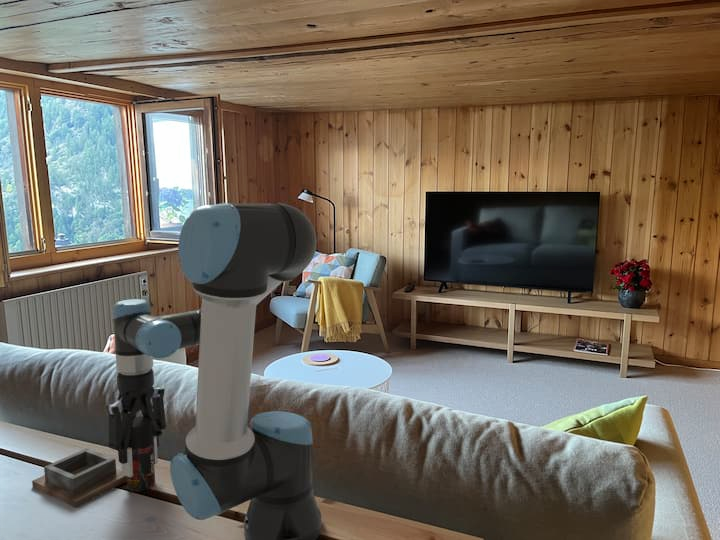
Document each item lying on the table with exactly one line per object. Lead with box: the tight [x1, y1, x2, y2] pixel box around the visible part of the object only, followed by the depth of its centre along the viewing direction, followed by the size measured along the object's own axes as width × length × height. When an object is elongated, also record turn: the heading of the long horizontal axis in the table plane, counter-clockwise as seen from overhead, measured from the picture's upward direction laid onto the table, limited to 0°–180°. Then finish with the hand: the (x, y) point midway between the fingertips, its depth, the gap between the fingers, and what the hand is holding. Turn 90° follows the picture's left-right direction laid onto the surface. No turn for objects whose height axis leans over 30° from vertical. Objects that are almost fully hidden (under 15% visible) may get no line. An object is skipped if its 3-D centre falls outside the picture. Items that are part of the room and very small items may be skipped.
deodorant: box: [126, 415, 156, 492], centre depth 123 cm, size 6×6×15 cm
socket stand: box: [31, 447, 127, 508], centre depth 124 cm, size 16×13×5 cm
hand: (140, 468), depth 123 cm, fingers closed on deodorant, 6 cm apart
